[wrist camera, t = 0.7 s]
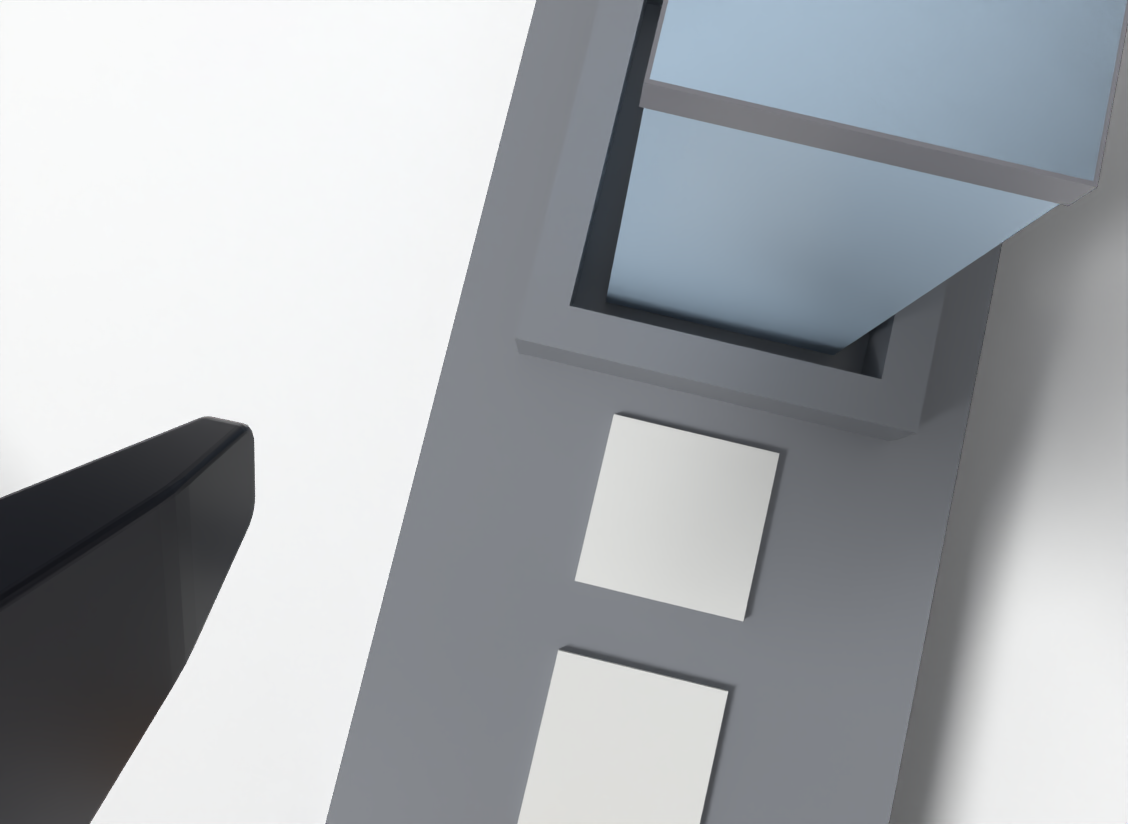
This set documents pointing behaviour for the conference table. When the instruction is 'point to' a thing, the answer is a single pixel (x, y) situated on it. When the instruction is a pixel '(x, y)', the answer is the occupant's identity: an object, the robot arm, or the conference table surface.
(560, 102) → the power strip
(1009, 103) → the pale blue block
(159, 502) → the robot arm
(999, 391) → the conference table surface
